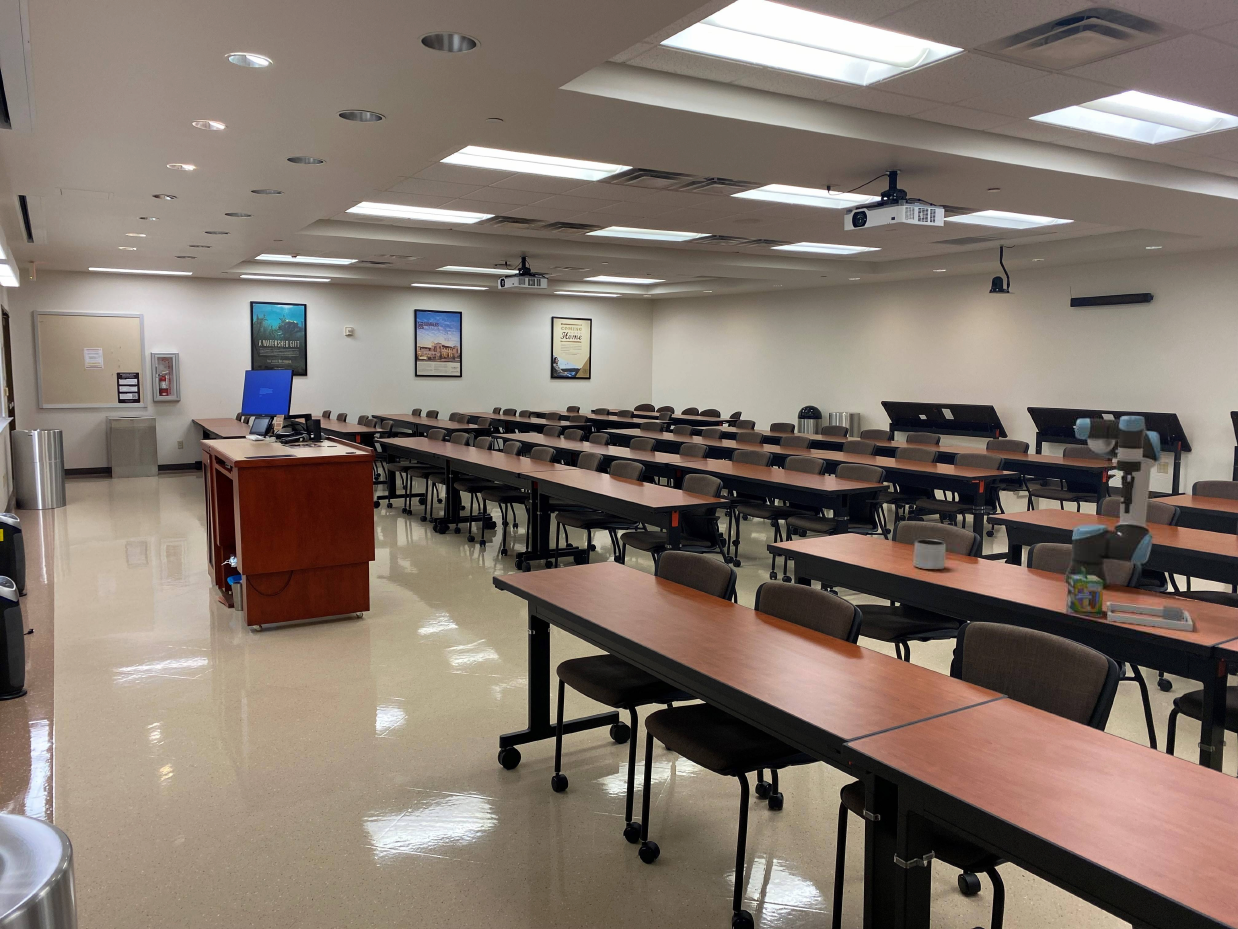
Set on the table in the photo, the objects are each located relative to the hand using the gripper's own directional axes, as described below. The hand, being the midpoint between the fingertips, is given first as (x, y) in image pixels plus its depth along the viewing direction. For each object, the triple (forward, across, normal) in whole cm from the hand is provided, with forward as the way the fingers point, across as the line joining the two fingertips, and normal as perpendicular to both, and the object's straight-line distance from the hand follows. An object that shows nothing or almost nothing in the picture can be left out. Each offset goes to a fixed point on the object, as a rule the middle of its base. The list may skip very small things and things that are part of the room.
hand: (1124, 519), depth 300 cm
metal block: (+32, +14, +15) cm, 38 cm away
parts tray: (+32, +14, +8) cm, 36 cm away
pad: (+32, +13, -11) cm, 36 cm away
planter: (+32, -28, -69) cm, 81 cm away
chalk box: (+31, +13, -11) cm, 36 cm away
